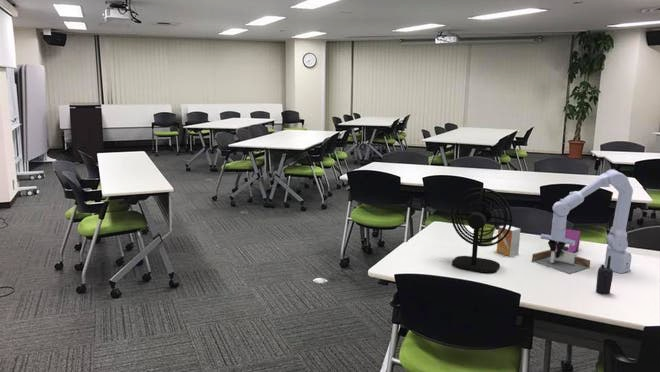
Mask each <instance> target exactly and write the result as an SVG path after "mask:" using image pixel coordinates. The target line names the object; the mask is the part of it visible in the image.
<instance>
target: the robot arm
mask: <svg viewBox="0 0 660 372" xmlns="http://www.w3.org/2000/svg"><path fill="white" fill-rule="evenodd" d="M610 185H611V186H612V187H613V188H614V189H615V190H616V191H617V192H618V195H617V200H616V206H615V210H614V218H613V222H612V227H611V228H610V229H609V233H608V234H607V235H606V237H605V238H606V242H607V246H606V251H605V252H606V253H605V258H604V264H603V265H604V267H607V263H608V257H609V256H611V261H610V268H611V269H612V271H613V272H615V273H618V274H624V273H628V272H630V271H631V263H632V254H631V253H630V252H628V251H626V250H627V249H628V246H629V241H628V233H627V225H628V220H629V216H630V208H631V203H632V199H633V198H632V197H633V194H634V189H633V187H632V185H631V183H630V181H629V178H628V177H627V176H626V175H625V174H624V173H622V172H619V171H618V170H616V169H612V168H611V169H608V170H606V171H605V172H602V173H601V174H600V175H598V177H596V178H595V179H594V180H592V181H591V182H589V183H588V184H587V185H585V186H584V187H583V188H582V189H581V190H578V191H577V190H574V191H570V192H569V194H568V195H567V196H565V197H564V198H560V199H559V201H556V202H555V203H554V204H553V206H552V207H551V208H552V211H553V215H552V216H553V217H552V221H551V231H550V232H551V233H550V234H544V233H541V234H540V237H539V239H541V240H546V241H548V243H547V245H548V247H549V250H550V249H551V251H554V250H556V245H557V254H556V258H559V257H560V254H561V251H562V250H563V251H564V248H565V246H566V245H568V246H569V245H572V246H574V245H575V241H574V240H570V239H567V238H565V230H566V229H567V216H569V213H570V211H571V210H573V209H574V208H576V207H577V206H578V205H581V204H582V203H583V202H585V201H584V200H585V197H587V196H589V195H591V194H592V193H594V192H595V191H597V190H598V189H601V188H610V187H611V186H610ZM557 242H559V243H557ZM599 268H601V265H600V266H599Z"/></svg>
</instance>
